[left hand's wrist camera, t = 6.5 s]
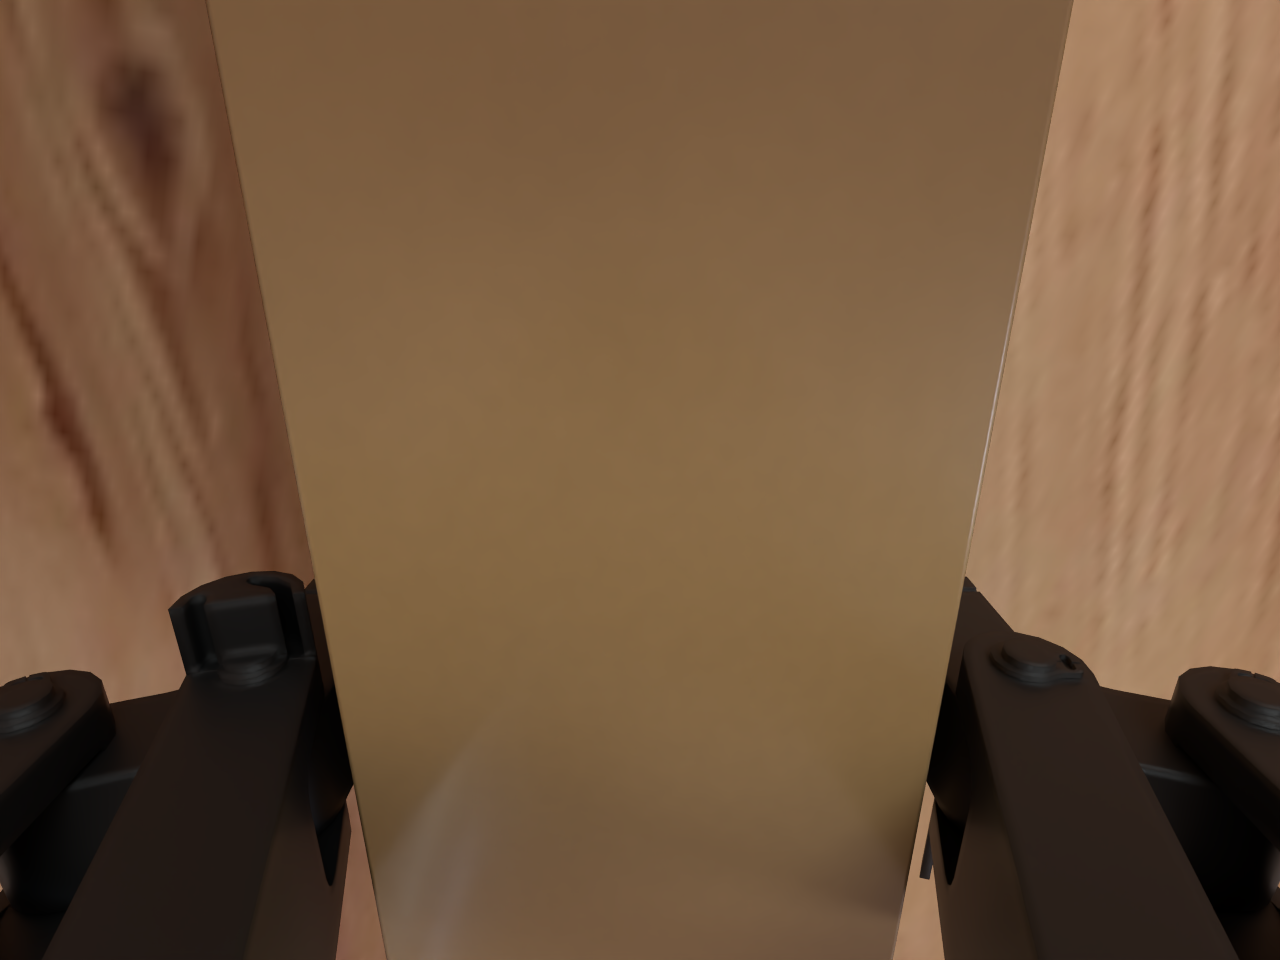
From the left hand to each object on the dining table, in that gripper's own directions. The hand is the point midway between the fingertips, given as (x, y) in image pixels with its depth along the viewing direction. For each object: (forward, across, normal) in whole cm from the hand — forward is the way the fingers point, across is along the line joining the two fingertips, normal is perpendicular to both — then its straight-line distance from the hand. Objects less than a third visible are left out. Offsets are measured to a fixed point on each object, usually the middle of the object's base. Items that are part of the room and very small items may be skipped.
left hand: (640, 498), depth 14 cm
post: (+1, 0, -21) cm, 21 cm away
